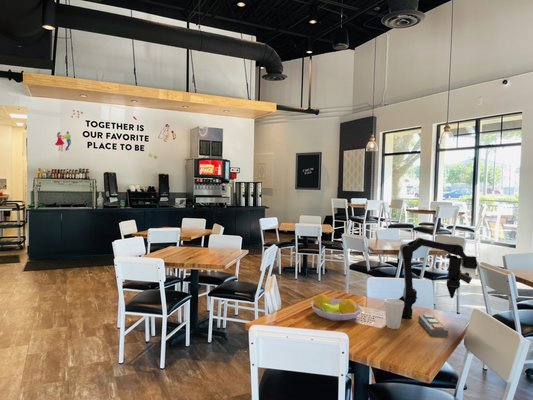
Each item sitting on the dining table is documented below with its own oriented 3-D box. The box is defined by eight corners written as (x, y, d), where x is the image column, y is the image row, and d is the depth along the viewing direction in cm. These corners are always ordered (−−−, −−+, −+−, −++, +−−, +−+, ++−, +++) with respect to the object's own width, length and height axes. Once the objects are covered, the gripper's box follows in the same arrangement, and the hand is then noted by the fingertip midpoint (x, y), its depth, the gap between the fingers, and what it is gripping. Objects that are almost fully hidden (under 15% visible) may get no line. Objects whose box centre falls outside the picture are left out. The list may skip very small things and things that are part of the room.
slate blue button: (425, 320, 198) (425, 316, 198) (423, 317, 202) (423, 314, 202) (433, 320, 198) (433, 317, 197) (431, 318, 201) (431, 314, 201)
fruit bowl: (335, 305, 223) (336, 286, 222) (371, 320, 200) (372, 299, 200) (297, 313, 207) (298, 292, 207) (332, 330, 185) (333, 307, 184)
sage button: (429, 325, 191) (430, 321, 191) (427, 322, 195) (427, 318, 195) (438, 325, 191) (438, 322, 190) (435, 322, 195) (435, 319, 194)
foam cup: (402, 324, 196) (404, 300, 195) (402, 331, 187) (404, 305, 186) (383, 322, 199) (384, 297, 198) (382, 328, 190) (384, 302, 189)
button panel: (430, 335, 183) (431, 329, 183) (418, 320, 203) (418, 315, 203) (448, 336, 182) (448, 330, 182) (434, 321, 202) (434, 316, 202)
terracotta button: (434, 330, 184) (434, 326, 184) (431, 327, 188) (432, 323, 188) (443, 331, 184) (443, 327, 184) (440, 327, 188) (440, 324, 188)
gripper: (472, 272, 191) (469, 303, 192) (470, 266, 208) (468, 294, 209) (447, 269, 196) (445, 299, 197) (448, 263, 213) (445, 290, 214)
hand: (451, 295), depth 204 cm, fingers open, 9 cm apart
